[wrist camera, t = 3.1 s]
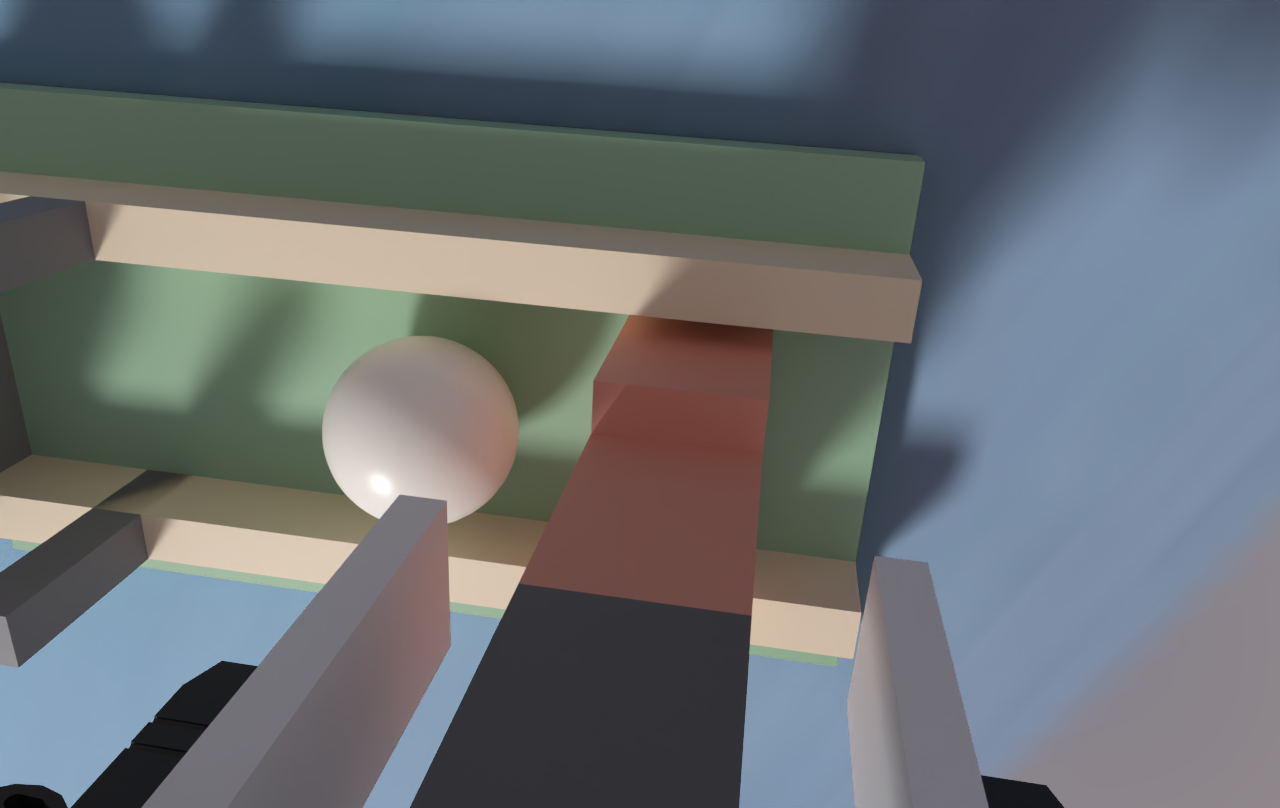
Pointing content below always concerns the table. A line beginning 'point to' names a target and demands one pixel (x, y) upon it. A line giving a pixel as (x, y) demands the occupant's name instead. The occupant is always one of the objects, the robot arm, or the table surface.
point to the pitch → (407, 331)
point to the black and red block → (631, 596)
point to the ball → (420, 426)
